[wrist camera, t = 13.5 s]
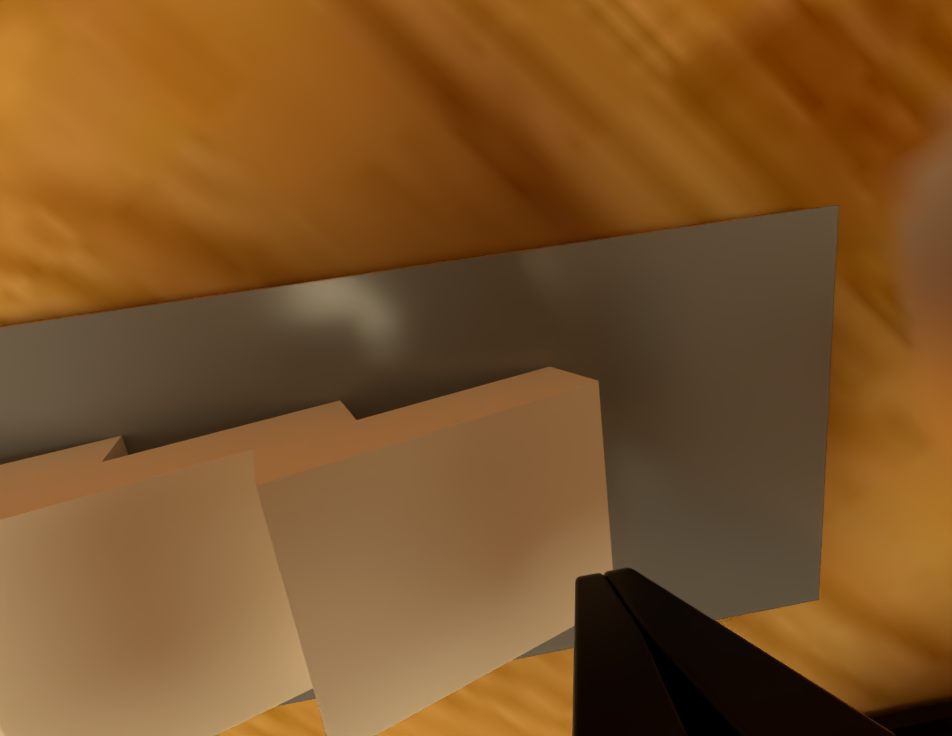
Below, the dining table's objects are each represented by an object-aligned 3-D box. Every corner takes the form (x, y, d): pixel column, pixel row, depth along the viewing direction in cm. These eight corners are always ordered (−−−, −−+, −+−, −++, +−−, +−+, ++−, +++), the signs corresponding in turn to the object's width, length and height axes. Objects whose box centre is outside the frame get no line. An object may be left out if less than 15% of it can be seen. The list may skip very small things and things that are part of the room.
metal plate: (802, 209, 11) (838, 205, 10) (791, 574, 14) (818, 599, 13) (-705, 429, 9) (-836, 449, 8) (-398, 803, 12) (-471, 852, 11)
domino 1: (356, 420, 9) (-92, 544, 6) (405, 643, 10) (46, 818, 8) (340, 400, 10) (-31, 496, 8) (384, 598, 11) (76, 732, 9)
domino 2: (598, 380, 9) (255, 485, 7) (615, 603, 10) (332, 758, 8) (549, 366, 10) (252, 449, 8) (569, 563, 12) (318, 685, 9)
